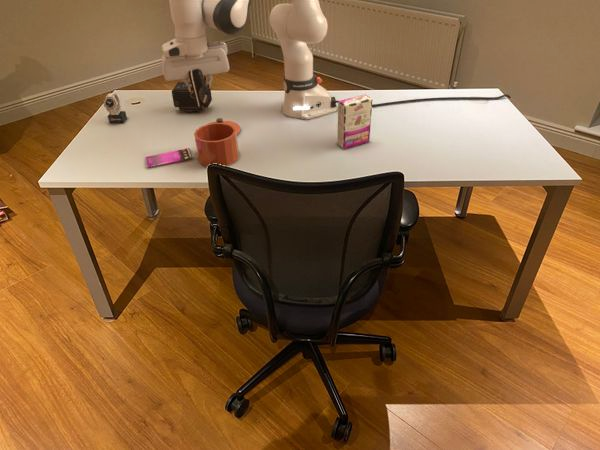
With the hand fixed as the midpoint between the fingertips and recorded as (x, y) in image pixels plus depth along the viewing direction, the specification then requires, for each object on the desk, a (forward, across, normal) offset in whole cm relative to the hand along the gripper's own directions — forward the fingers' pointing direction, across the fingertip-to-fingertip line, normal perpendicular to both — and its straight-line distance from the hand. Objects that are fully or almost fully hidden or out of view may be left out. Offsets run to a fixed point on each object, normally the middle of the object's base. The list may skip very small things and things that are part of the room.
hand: (199, 89), depth 139 cm
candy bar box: (+23, -49, +13) cm, 56 cm away
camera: (+23, -1, -37) cm, 44 cm away
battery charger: (+4, 0, 0) cm, 4 cm away
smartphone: (+23, +14, -1) cm, 27 cm away
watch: (+23, +29, -39) cm, 54 cm away
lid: (+22, -7, -14) cm, 27 cm away
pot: (+23, -2, +4) cm, 23 cm away
